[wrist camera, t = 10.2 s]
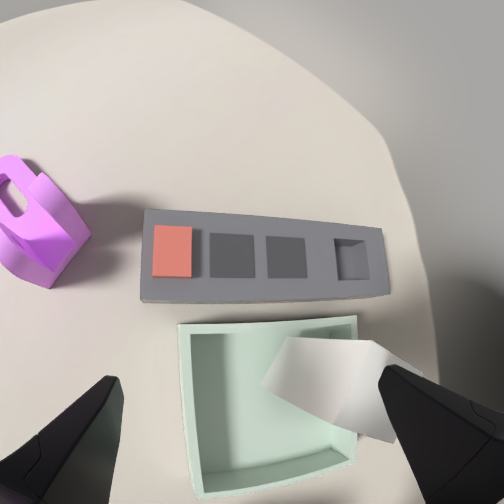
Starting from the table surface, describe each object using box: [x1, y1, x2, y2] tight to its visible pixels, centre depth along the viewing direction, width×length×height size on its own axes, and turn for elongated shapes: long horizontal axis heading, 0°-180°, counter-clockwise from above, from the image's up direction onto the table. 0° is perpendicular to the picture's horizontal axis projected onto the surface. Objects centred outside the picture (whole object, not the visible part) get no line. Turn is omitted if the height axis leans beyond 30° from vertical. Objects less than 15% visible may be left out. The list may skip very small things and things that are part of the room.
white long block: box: [260, 336, 424, 443], centre depth 16 cm, size 4×4×11 cm
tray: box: [177, 315, 358, 500], centre depth 19 cm, size 13×13×4 cm
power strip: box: [140, 209, 390, 304], centre depth 21 cm, size 20×6×4 cm, turn 93°
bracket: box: [0, 155, 92, 289], centre depth 14 cm, size 13×6×7 cm, turn 55°
